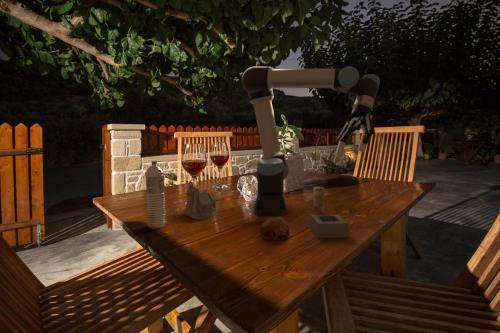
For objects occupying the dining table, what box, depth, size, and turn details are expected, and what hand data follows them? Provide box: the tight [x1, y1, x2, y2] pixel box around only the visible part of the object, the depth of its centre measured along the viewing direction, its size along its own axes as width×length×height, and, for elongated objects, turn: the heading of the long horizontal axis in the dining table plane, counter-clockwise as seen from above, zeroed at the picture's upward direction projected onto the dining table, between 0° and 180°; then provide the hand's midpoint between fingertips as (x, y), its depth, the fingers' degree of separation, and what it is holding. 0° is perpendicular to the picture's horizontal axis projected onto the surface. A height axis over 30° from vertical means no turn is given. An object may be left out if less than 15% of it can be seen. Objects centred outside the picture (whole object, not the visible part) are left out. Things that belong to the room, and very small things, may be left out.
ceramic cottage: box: [184, 180, 219, 220], centre depth 125 cm, size 16×16×15 cm
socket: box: [310, 213, 349, 239], centre depth 99 cm, size 10×10×5 cm
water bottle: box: [144, 160, 167, 230], centre depth 107 cm, size 7×7×25 cm
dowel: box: [312, 186, 325, 215], centre depth 108 cm, size 4×4×14 cm
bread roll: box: [260, 217, 291, 242], centre depth 97 cm, size 10×10×8 cm
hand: (349, 153), depth 115 cm, fingers open, 13 cm apart
